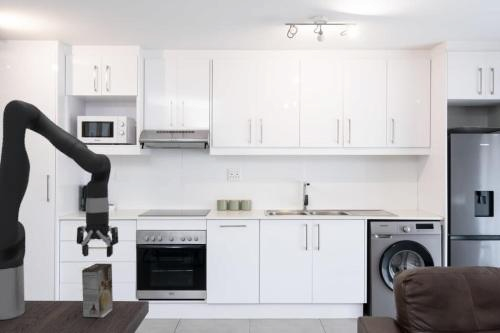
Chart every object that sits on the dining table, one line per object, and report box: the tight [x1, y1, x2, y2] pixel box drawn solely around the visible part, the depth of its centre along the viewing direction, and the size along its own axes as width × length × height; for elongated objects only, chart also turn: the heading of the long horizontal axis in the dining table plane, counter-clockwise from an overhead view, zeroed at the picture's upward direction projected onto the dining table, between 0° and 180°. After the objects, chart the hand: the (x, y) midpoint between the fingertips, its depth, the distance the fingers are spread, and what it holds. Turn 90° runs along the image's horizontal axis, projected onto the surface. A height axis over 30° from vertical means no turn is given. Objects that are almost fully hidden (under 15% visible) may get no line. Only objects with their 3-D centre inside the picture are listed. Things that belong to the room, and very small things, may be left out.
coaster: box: [83, 307, 113, 318], centre depth 134 cm, size 7×7×1 cm
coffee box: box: [81, 263, 114, 318], centre depth 135 cm, size 9×6×16 cm
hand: (97, 256), depth 134 cm, fingers open, 8 cm apart
